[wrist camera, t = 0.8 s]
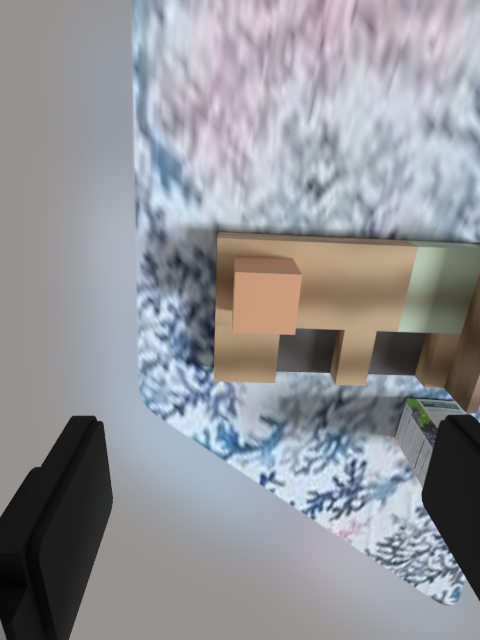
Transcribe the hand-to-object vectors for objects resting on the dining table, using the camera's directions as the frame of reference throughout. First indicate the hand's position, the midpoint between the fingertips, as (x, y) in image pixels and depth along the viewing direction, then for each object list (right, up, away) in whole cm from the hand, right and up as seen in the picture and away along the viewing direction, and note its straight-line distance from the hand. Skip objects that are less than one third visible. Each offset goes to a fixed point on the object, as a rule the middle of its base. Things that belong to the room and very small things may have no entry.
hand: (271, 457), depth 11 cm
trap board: (+9, +5, +27) cm, 29 cm away
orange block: (+1, +7, +23) cm, 24 cm away
